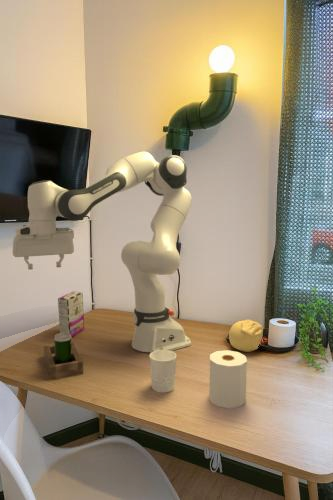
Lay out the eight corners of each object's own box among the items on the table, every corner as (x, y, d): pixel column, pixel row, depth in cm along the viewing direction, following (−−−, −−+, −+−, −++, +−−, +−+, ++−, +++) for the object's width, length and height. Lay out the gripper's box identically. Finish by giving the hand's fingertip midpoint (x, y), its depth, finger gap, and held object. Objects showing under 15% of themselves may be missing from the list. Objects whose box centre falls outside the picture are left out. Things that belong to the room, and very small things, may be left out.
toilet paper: (221, 412, 101) (222, 368, 99) (202, 393, 110) (202, 353, 108) (253, 403, 105) (254, 361, 103) (232, 386, 114) (233, 347, 112)
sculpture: (253, 357, 134) (254, 328, 132) (223, 349, 141) (224, 321, 139) (266, 347, 143) (268, 319, 141) (237, 339, 150) (238, 313, 148)
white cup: (167, 396, 108) (167, 363, 107) (144, 389, 112) (144, 357, 111) (181, 384, 115) (181, 353, 113) (159, 378, 119) (159, 347, 118)
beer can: (58, 376, 121) (56, 339, 119) (53, 369, 125) (51, 334, 123) (75, 371, 123) (73, 336, 122) (69, 365, 128) (68, 331, 126)
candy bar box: (74, 328, 163) (72, 290, 160) (84, 329, 161) (83, 291, 159) (59, 337, 152) (57, 297, 150) (69, 339, 151) (68, 298, 148)
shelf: (73, 352, 138) (72, 341, 138) (83, 373, 122) (82, 361, 122) (44, 357, 135) (43, 346, 134) (50, 379, 118) (50, 367, 118)
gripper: (72, 226, 138) (73, 264, 140) (10, 228, 130) (13, 268, 132) (75, 228, 133) (76, 267, 135) (11, 230, 124) (14, 272, 127)
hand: (44, 268), depth 133 cm, fingers open, 8 cm apart
